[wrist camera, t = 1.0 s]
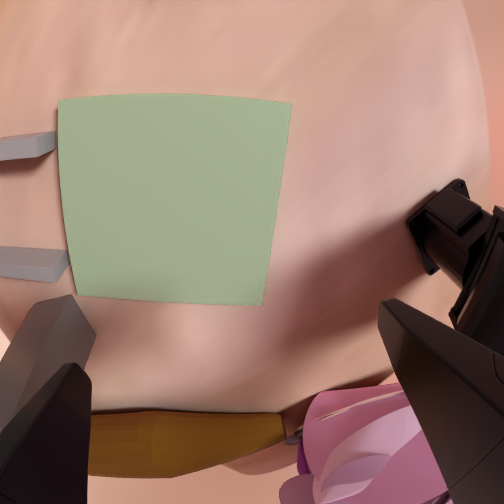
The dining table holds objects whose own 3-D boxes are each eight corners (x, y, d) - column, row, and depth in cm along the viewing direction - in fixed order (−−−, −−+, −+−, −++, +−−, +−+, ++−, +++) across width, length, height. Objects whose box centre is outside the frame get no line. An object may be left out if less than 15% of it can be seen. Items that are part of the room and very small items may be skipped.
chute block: (71, 294, 22) (8, 429, 10) (96, 335, 24) (56, 467, 12) (34, 303, 22) (-29, 422, 10) (60, 341, 24) (15, 459, 13)
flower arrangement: (287, 438, 45) (307, 585, 24) (227, 396, 30) (250, 639, 8) (481, 370, 39) (523, 508, 17) (528, 285, 23) (608, 497, 2)
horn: (276, 395, 34) (101, 420, 35) (266, 386, 26) (52, 411, 26) (291, 455, 30) (109, 471, 31) (286, 468, 21) (60, 475, 22)
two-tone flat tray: (288, 103, 17) (298, 104, 15) (260, 297, 23) (264, 319, 21) (-30, 117, 14) (-51, 123, 11) (-5, 278, 20) (-18, 294, 18)
